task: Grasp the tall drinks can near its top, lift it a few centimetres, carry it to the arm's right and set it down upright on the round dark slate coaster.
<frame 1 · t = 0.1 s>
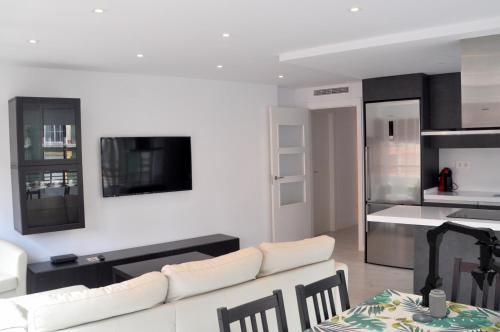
hand: (486, 288, 224), 15 cm above the table, fingers open, 9 cm apart
can: (437, 316, 231), on the table
coaster: (422, 318, 228), on the table
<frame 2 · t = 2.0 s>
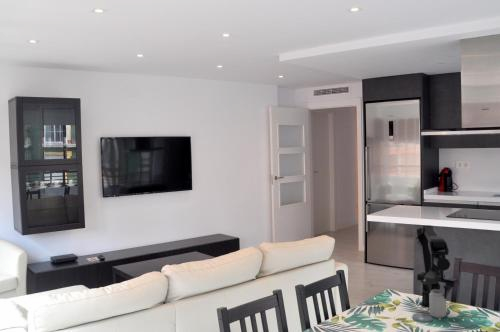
hand: (437, 297, 231), 9 cm above the table, fingers closed on can, 7 cm apart
can: (437, 316, 231), on the table, touching gripper
when the fingers open (11 cm above the table, at t = 4.7 s): can drops 1 cm, resting on coaster.
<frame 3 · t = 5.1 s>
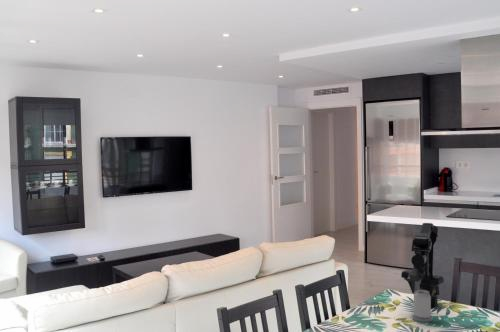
hand: (422, 295, 227), 11 cm above the table, fingers open, 9 cm apart
can: (422, 316, 228), point 1 cm above the table, touching coaster
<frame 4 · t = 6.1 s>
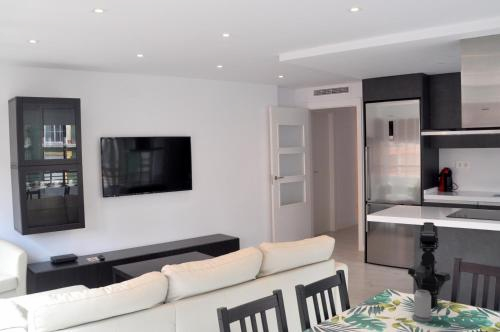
hand: (428, 291, 227), 13 cm above the table, fingers open, 9 cm apart
can: (422, 316, 228), point 1 cm above the table, touching coaster, gripper
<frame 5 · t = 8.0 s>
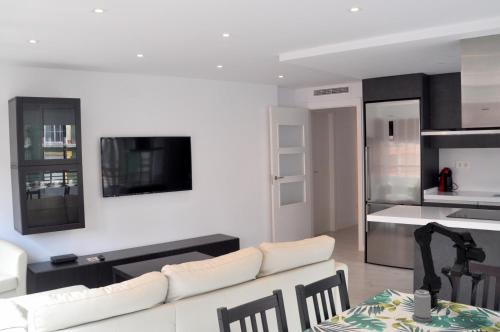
hand: (462, 291, 227), 13 cm above the table, fingers open, 9 cm apart
can: (422, 316, 228), point 1 cm above the table, touching coaster
at the end: can 0.1 cm from the coaster (horizontally); can touching coaster; can tilted 0° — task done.
